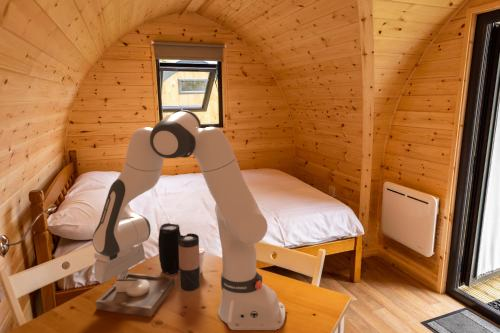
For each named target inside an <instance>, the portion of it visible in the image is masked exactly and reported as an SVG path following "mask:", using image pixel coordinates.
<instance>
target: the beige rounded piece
mask: <svg viewBox="0 0 500 333" xmlns="http://www.w3.org/2000/svg"><path fill="white" fill-rule="evenodd" d="M115 283H116V292H126V293H127V295H128V296H131V297H138V296H142V295H144V294H146V293H148V292H149V290H150V287H149V282H148V281H146V280H138V279H119V278H117V279H116V280H115Z"/></svg>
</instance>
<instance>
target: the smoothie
mask: <svg viewBox="0 0 500 333" xmlns="http://www.w3.org/2000/svg"><path fill="white" fill-rule="evenodd" d="M205 251H206V250H205V248H203V247H201V246H199V259H200V274H201V273H202V272H203V262H204V255H205Z"/></svg>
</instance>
